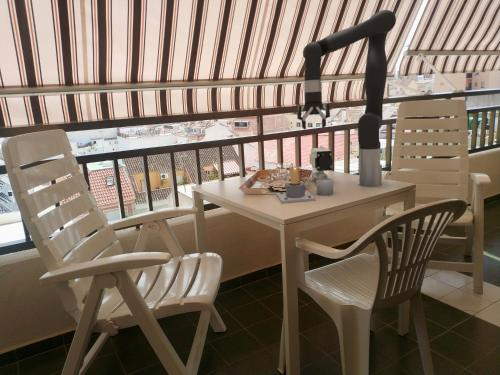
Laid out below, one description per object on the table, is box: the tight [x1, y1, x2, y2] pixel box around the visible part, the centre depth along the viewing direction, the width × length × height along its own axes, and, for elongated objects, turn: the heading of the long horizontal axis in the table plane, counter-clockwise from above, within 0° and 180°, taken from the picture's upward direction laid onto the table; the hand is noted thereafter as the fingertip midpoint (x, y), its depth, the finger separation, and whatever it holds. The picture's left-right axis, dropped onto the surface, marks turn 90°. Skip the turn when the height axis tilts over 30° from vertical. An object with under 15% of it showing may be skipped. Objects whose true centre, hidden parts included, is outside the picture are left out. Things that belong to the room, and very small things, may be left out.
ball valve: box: [309, 145, 333, 182], centre depth 190 cm, size 18×8×18 cm, turn 2°
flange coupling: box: [276, 182, 316, 204], centre depth 162 cm, size 14×14×6 cm
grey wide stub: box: [316, 178, 334, 197], centre depth 166 cm, size 7×7×6 cm
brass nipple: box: [289, 166, 300, 186], centre depth 161 cm, size 4×4×12 cm
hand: (313, 128), depth 169 cm, fingers open, 8 cm apart
